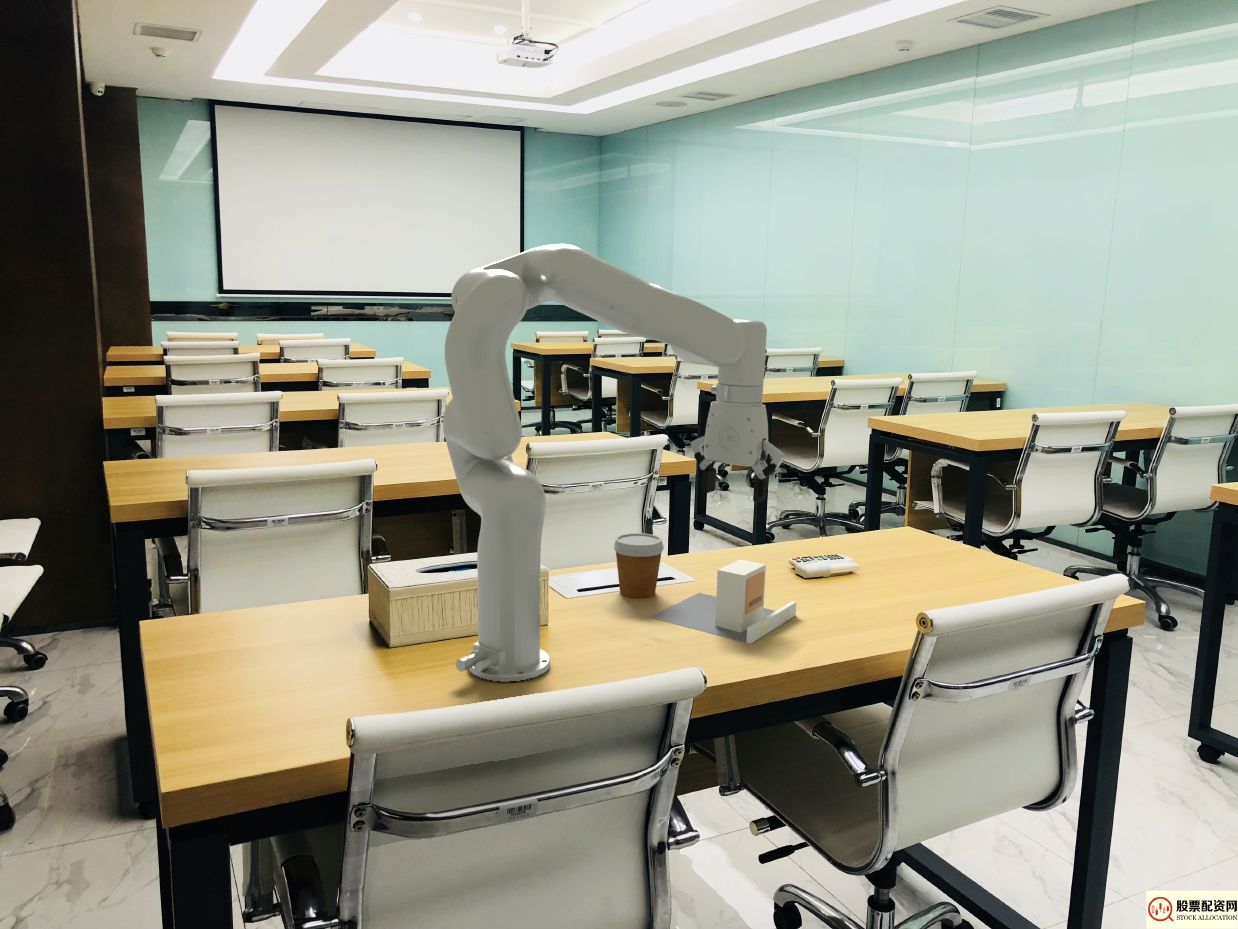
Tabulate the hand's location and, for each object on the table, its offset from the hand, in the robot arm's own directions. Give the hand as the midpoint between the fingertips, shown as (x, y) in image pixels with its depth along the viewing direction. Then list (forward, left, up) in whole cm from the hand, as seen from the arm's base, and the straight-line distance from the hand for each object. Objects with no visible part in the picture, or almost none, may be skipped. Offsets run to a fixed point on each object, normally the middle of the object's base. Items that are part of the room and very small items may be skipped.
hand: (733, 496), depth 156 cm
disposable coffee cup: (+3, +21, -24) cm, 32 cm away
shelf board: (+2, +2, -24) cm, 24 cm away
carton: (+1, -2, -22) cm, 22 cm away
